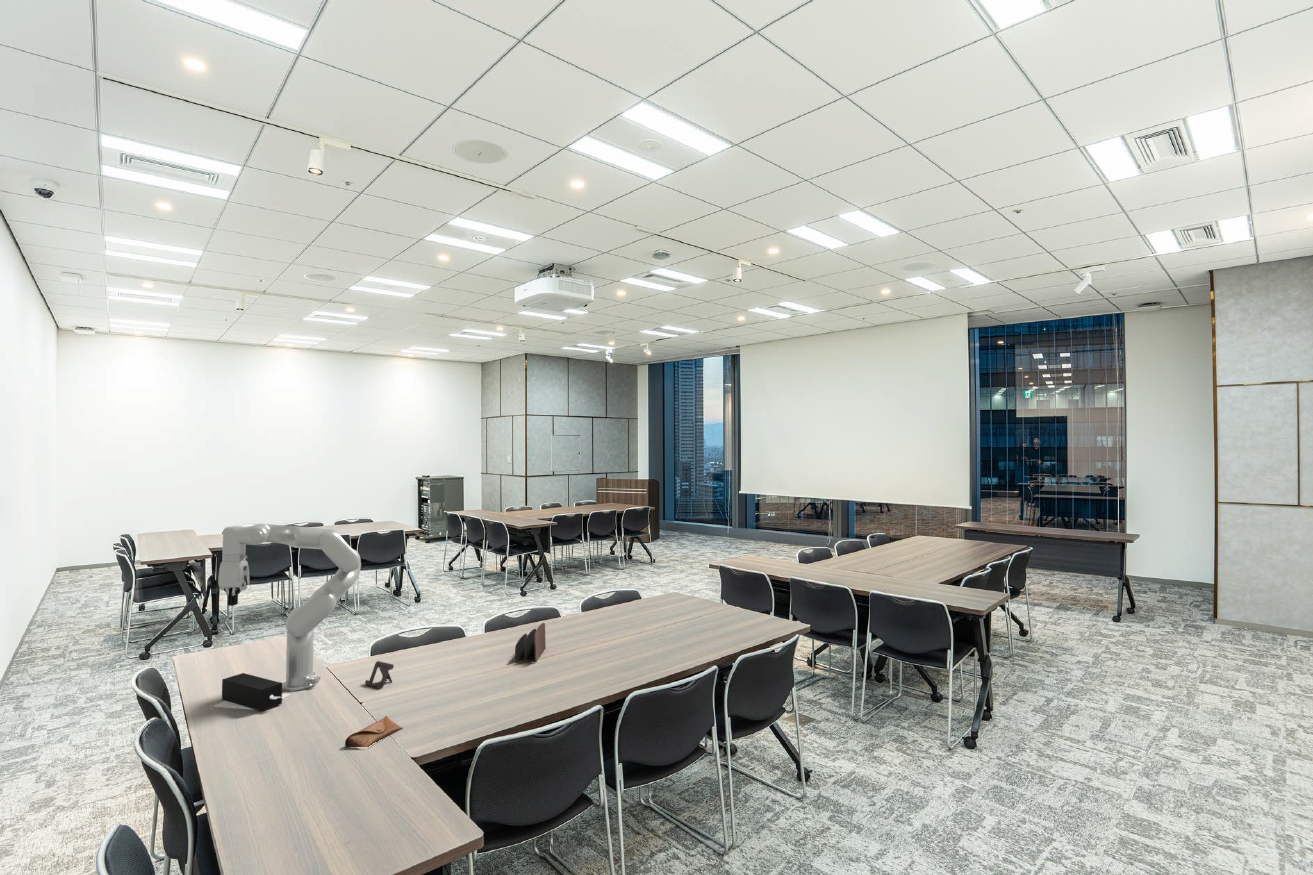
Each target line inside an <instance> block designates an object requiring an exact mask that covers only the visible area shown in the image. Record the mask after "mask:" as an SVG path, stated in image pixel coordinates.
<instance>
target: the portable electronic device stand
mask: <svg viewBox="0 0 1313 875" xmlns="http://www.w3.org/2000/svg"><path fill="white" fill-rule="evenodd" d="M378 669H379V671H380V673H381V676H382V678H381V680H380V682H379V683H378V682H374V679H375V678H376V677H375V676H376V674H377V671H378ZM393 669H394V664H391V663H390V662H389V663H388V662H385V661H380V660H376V661H375V664H374V665H373V669H372V672H371V676H370V678H369V680H367V679H366V680H365V683H364V684H365V685H366V686H368V687H373V688H376V689H380V690H381V689H383V688H384V685H385V682H388V681H389V683H393V681H392V677H391V675H390V672H389V671H390V670H393Z"/></svg>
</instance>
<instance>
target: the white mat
mask: <svg viewBox="0 0 1313 875" xmlns="http://www.w3.org/2000/svg"><path fill="white" fill-rule="evenodd" d="M290 696H291V693H282V699H283V700H285V699H287V698H289V697H290ZM286 697H287V698H286ZM214 708H225V709H239V710H241V709H242V710H255V709H252V708H249V707H245V706H242V705H239V704H235V703H232V702H229V701H225V700H222V701H221V702H219V703H218V704H215V705H214Z"/></svg>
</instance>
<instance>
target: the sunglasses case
mask: <svg viewBox="0 0 1313 875" xmlns="http://www.w3.org/2000/svg"><path fill="white" fill-rule="evenodd" d="M402 729H404V727H403V726H400V725H398V724H397V723H396V722H395V721H393V720H391V719H390V718H389V717H388V716H387V715H386V716H384V717H383V718H381V719H379V720H377V721H375V722H373V723H371V724H370V725H368V726H366V727H364V728H362V729H361V730H358V731H356V732H354V733H352V734H350V735H349V736H347V737H346V739H345V742H344V745H345V746H344V747H345V748H348V747H369V746H370V745H372V744H373V743H375V742H377V743H379V742H380V741H379V740H381V739H382V740H384V739H386V738H388V737H390V736H391V735H393V734H394V733H397V732H398V731H402ZM387 736H388V737H387ZM385 737H386V738H385ZM383 738H384V739H383ZM382 740H381V741H382ZM378 741H379V742H378ZM372 746H373V745H372Z"/></svg>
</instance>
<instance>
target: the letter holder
mask: <svg viewBox="0 0 1313 875" xmlns="http://www.w3.org/2000/svg"><path fill="white" fill-rule="evenodd" d="M546 643H547V642H546V623H545V622H542V623H540V625H539V626H537V628H533V629H532V630H531V631H530V632H529V633H524V634H523V635H521V637H519V639H518V640H517V642H516V644H515V647H514V663H515V662H523V663H524V662H536V661H537V662H538V660H539V659H540V658H541V657H542V655H543V653H544V652H545V651H544V650H546V649H547V648H546ZM543 651H544V652H543ZM541 654H542V655H541ZM538 658H539V659H538ZM537 662H536V663H537Z"/></svg>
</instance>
